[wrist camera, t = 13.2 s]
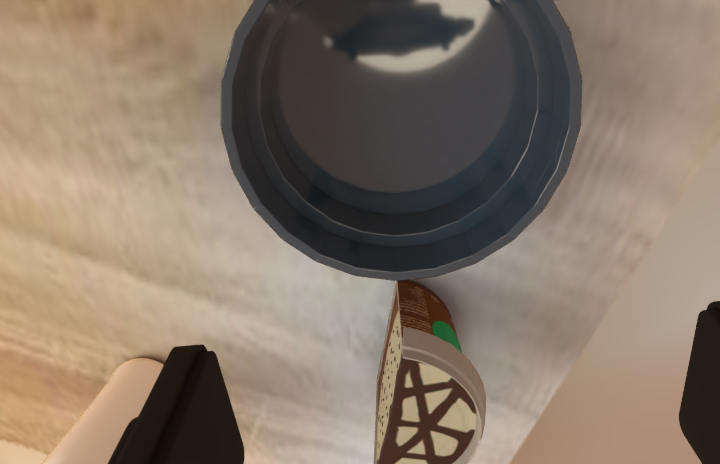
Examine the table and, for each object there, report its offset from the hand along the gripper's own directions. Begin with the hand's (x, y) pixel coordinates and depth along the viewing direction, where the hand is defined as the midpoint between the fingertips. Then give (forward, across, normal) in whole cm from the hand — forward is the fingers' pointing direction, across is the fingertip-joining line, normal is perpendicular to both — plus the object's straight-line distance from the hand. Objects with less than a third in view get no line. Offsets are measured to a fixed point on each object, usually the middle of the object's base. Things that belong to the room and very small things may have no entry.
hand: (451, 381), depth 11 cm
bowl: (+26, 0, +1) cm, 26 cm away
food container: (+26, 0, +19) cm, 32 cm away
